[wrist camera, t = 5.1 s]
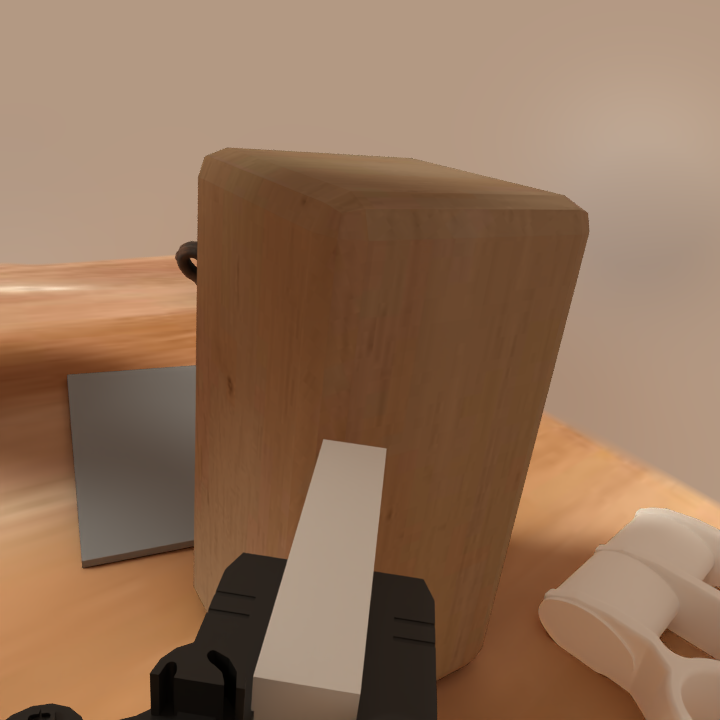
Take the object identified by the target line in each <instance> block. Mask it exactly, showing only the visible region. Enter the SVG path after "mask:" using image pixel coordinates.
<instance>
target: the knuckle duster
mask: <svg viewBox="0 0 720 720" xmlns="http://www.w3.org/2000/svg"><path fill="white" fill-rule="evenodd" d="M710 585H711V586H710ZM712 586H716V587H720V530H719V529H717V528H715V527H713V526H711V525H709V524H707V523H705V522H703V521H701V520H699V519H696V518H693V517H690V516H687V515H684V514H681V513H678V512H675V511H673V510H670V509H667V508H646V509H639V510H638V511H637V512H636V514H635V517H634V519H633V520H631V521H630V522H629V523H628V524H627V525H626V526H625V527H624V528H623V529H622V530H620V531H619V532H618V533H617V534H616V535H615V536H614V537H613V538H612V539H611V540H609V541H608V542H607V543H606V544H605V545H602V544H600V545H599V546H598V547H597V548H596V549H595V552H594V555H593V556H592V557H591V558H590V559H589V560H587V561H586V562H585V563H584V564H583V565H582V566H581V567H580V568H579V569H578V570H576V571H575V572H574V573H573V574H572V575H571V576H570V577H569V578H568V579H567V580H565V581H564V582H563V583H562V584H561V585H560V586H559V587H558V588H557V589H550V590H549V591H548V592H547V593H546V594H545V596H544V600H543V601H542V602H541V604H540V605H539V608H538V615H539V619H540V621H541V623H542V625H543V627H544V628H545V630H546V631H547V632H548V634H549V635H550V636H551V638H552V639H553V640H554V641H555V642H556V643H557V644H558V645H559V646H560V647H562V648H563V649H564V650H566V651H567V652H569V653H570V654H571V655H573V656H574V657H576V658H577V659H578V660H580V661H581V662H583V663H584V664H585V665H587V666H588V667H590V668H591V669H592V670H594V671H595V672H597V673H600V674H602V675H605V676H606V677H608V678H609V679H611V680H612V681H613V682H615V683H616V684H618V685H619V686H621V687H622V688H623V689H625V690H626V691H628V692H629V693H630V694H631V696H632V697H633V699H634V701H635V702H636V704H637V706H638V707H639V709H640V710H641V712H642V714H643V715H644V717H645V719H646V720H720V591H719V590H717V589H716V588H714V587H712ZM666 628H667V629H669V630H670V631H672V632H674V633H675V634H677V635H678V636H680V637H682V638H683V639H685V640H686V641H688V642H690V643H691V644H693V645H695V646H696V647H698V648H699V649H701V650H703V651H704V652H706V653H707V654H709V655H711V656H712V657H714V658H715V659H716V660H714V659H708V658H686V657H682V656H679V655H677V654H675V653H674V652H672V651H671V650H669V649H668V648H667V647H666V646H665V645H664V644H663V643H662V641H661V640H660V639H659V637H660V636H661V635H662V633H663V632H664V631H665V629H666Z"/></svg>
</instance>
